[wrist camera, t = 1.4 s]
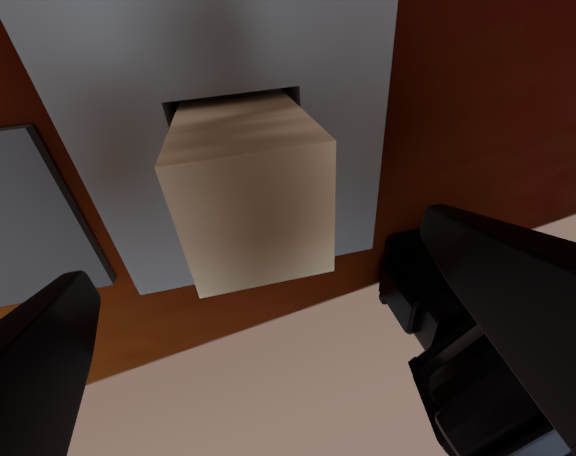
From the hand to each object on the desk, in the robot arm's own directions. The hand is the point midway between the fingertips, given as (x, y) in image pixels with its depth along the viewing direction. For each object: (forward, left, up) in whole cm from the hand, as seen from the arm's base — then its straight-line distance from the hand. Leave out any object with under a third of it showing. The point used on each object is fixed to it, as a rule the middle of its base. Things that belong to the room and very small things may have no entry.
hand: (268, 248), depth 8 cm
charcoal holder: (0, 0, -9) cm, 9 cm away
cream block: (0, 0, -9) cm, 9 cm away
